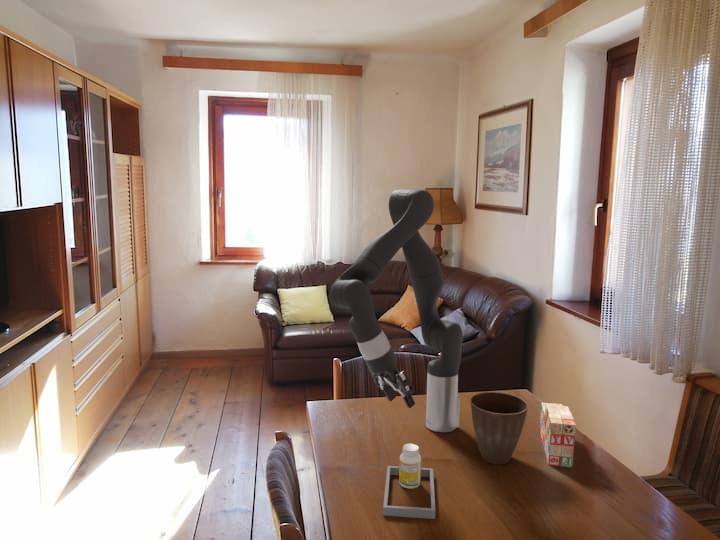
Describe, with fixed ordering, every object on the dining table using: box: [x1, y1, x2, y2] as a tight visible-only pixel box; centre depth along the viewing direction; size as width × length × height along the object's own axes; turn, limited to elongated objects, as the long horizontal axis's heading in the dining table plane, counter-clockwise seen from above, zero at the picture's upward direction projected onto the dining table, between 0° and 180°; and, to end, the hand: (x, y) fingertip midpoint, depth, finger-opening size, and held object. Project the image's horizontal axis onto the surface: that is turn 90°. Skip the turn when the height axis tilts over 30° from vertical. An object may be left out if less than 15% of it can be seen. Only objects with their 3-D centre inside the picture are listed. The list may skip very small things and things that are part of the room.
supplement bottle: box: [398, 443, 422, 490], centre depth 137 cm, size 5×5×10 cm
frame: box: [382, 465, 436, 520], centre depth 133 cm, size 19×12×2 cm, turn 174°
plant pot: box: [470, 391, 529, 465], centre depth 150 cm, size 15×15×16 cm
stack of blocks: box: [539, 402, 577, 468], centre depth 156 cm, size 21×6×12 cm, turn 168°
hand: (401, 402), depth 144 cm, fingers open, 8 cm apart
